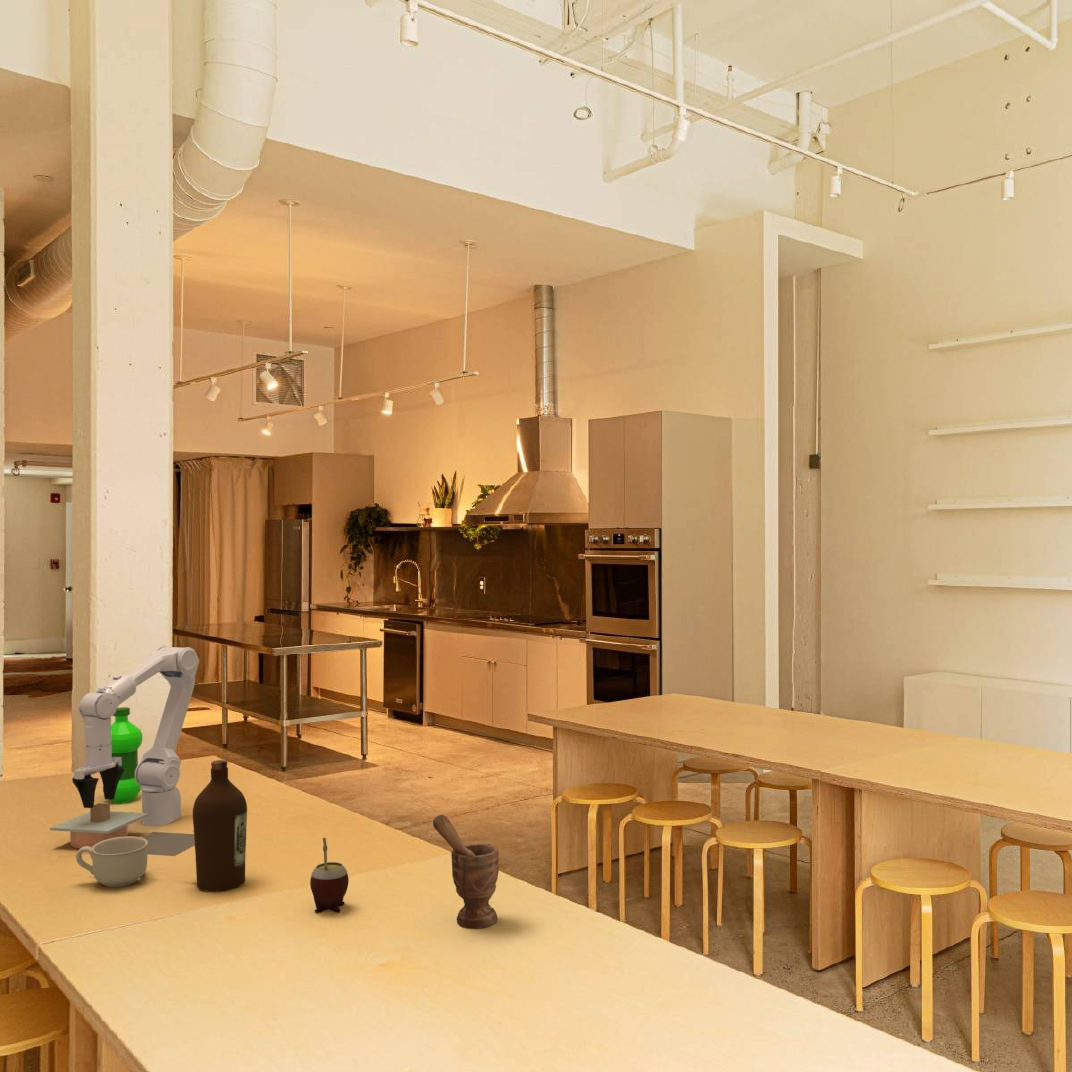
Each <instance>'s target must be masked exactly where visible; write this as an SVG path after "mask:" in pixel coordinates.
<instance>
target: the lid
mask: <svg viewBox="0 0 1072 1072" xmlns="http://www.w3.org/2000/svg"><path fill="white" fill-rule="evenodd" d="M110 805H111V803H96V804H94V806H93V808H89V811H88V812H86V813H83V814H81V815H78V816H76V817H73V818H71V819H68V820H65V821H64V822H60V823H59V824H56V825H53V826H51V827H49V830H50V831H58V832H70V831H71V832H88V833H105V834H109V833H111V832H113V831H115V830H118V829H120V828H122V827H124V826H127V825H128V826H129V825H130V824H133V823H135V822H137V821H141V820H142V818H145V817H147V816H148V813H142V812H134V811H133V812H129V811H114V810H113V811H111V806H110Z"/></svg>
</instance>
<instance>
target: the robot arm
mask: <svg viewBox="0 0 1072 1072" xmlns="http://www.w3.org/2000/svg"><path fill="white" fill-rule="evenodd" d="M150 652H151V651H150ZM199 664H200V658H199V657H198V655H197V652H196V651H195V649H194V648H192V647H189V646H187V647H176V646H174V647H173V646H165V645H163V646H158V647H157V648H156V650H152V652H151V653H150V656H149V657H148V658H147V659H145V660H144V661H143V662H141V664H139V665H138V666H136V667H135V668H134V669H133V670H132V671H131V672H129V673H128V674H124V673H123V674H115V675H114V676H112V679H111V680H110V681H109V682H107V683H106V684H105V685H103V686H99V687H98V688H97V690H96V691H95V692H87V693H86V694H85V695H84V696H83V697H82V698H81V699H80V701H79V702H80V703H79V705H78V706H77V710H78V713H79V714H80V716H81V718H82V724H83V726H84V765H82V766H80V767H79V768H77V769H75V770H74V772H73V775H74V776H73V777H72V779H71V780H72V783H73V785H74V786H75V788H76V790H77V792H78V793H79V796H80V800H81V803H82V805H83V806H82V807H83V808H84V809H90V808H93V806H94V805H95V795H96V788H97V785H98V781H99V779H100V778H101V781H102V791H103V790H104V792H103V796H104V799H105V800H109V801H111V800H113V799H114V798H115V794H116V789H117V785H118V782H119V780H120V777H121V775H122V774H123V772H124V767H118V766H121V765H122V757H113V758H112V745H111V725H112V717H114V716H113V715H114V714H115V712H116V709H117V708H119V706H120V705H121V704H123V703H124V702H125V701H126V700H128V699H129V698H130V697H132V696H133V695H135V694H136V691H137V687H138V686H140V685H141V684H142V683H144V682H145V681H147V680H149V679H150V678H152V677H153V676H155V675H156V674H158V673H159V674H160V675H161V676H162V677H163V678H164V679H165V680H166V681H167V682H168V684H169V685H170V689H169V692H168V694H167V698H166V701H165V705H164V708H163V713H162V715H161V718H160V722H159V725H158V729H157V731H156V735H155V738H154V742H153V745H152V747H151V748H150V749H148V750H147V751H146V752H145V753H143V754H142V758H141V760H140V761H139V763H138V766H137V767H136V770H135V781H136V782H137V784H138V785H140V789H141V790H140V791H141V810H142V811H141V813H148V816H147V817H145V818H142V819H141V821H142V826H147V827H158V826H159V827H160V826H164V825H165V826H166V825H168V824H172V823H173V822H174V821H175V820H177V819H180V818H182V797H181V792H180V790H179V788H178V787H177V784H178V782H179V781H180V780H179V779H180V776H181V770H180V767H181V763H182V761H181V759H180V757H179V756H178V754H177V753H176V750H177V746H178V743H179V740H180V736H181V733H182V729H183V726H184V722H185V718H186V716H187V713H188V708H189V705H190V702H191V699H192V695H193V692H194V688H195V684H196V674H197V671H198V667H199ZM97 773H99V775H100V778H99V777H93V776H92V775H95V774H97Z"/></svg>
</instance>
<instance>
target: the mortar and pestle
mask: <svg viewBox="0 0 1072 1072" xmlns="http://www.w3.org/2000/svg"><path fill="white" fill-rule="evenodd" d="M432 825H433V828H434V830H435V831H436V832H437V833H438V834H439V835H440V836H441V837H442V838H443V839H444V840H445V841H446V842H447V844H448V845H449V846H450V847H451V848H452V850H451V872H452V873H451V874H452V879H453V884H454V886H455V891H456V893H457V896H458V897H460V898H461V899H462V900H463V903H464V905H463V906H462V908H460V910H459V911H458V914H457V916H456V922H457V925H459V926H460V927H463V928H469V929H478V928H479V929H480V928H486V927H490V926H491V925H493V924H495V923H497V922H498V920H499V918H498V913H497V911H496V910H495V909H494V907H492V905H490V900H491V898H492V896H493V895H494V893H495V892H496V888H497V881H498V878H499V877H498V876H499V871H500V870H499V860H500V859H499V858H500V857H499V856H500V855H499V847H498V846H496V845H494V844H491V843H484V842H481V843H467V844H464V842H463V841H462V839H461V837H460V836H459V834H458V833H457V830H456V829H455V827H454V825H453V824H452V822H451V821H450V820H449V818H448V817H447V816H446V815H444V814H439V815H437V816H436V817H435V818H434V819H433V820H432Z"/></svg>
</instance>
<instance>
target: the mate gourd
mask: <svg viewBox="0 0 1072 1072" xmlns="http://www.w3.org/2000/svg"><path fill="white" fill-rule="evenodd" d="M322 842H323V845H322V850H323V863H319V864H317V865H316V866H315V867H314V869H313V870H312V872H311V876H310V878H309V879H310V882H309V884H310V890H311V894H312V895H313V900H314V905H315V908H316V909H314V912H315V913H316V914H319V913H323V912H326V911H332V912H333V913H336V914H339V913H341V911H342V909H340V907H343V906H345V901H344V897H345V895H346V894H347V891H348V888H349V882H350V881H349V880H350V879H349V874H348V870H347V868H346V867H345V866H344V864H343V863H341V862H335V861H331V862H330V861H329V862H328V845H327V838H326V837H322Z"/></svg>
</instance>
